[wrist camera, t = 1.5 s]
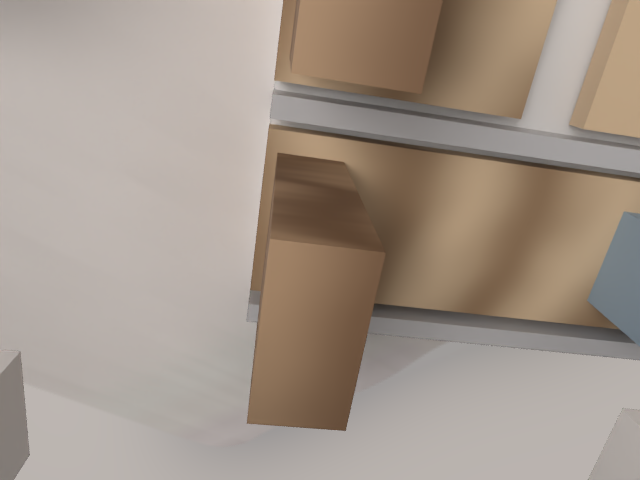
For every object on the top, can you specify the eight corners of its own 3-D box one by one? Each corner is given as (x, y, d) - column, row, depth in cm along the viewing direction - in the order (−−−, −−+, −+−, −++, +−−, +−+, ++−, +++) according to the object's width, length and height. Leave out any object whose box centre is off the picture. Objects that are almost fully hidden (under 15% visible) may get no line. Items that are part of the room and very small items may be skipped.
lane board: (250, 292, 27) (246, 321, 24) (304, -176, 19) (307, -213, 16) (643, 333, 30) (680, 364, 27) (831, -60, 22) (910, -74, 19)
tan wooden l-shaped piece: (252, 279, 25) (227, 447, 15) (269, 123, 22) (254, 198, 12) (669, 324, 28) (895, 493, 18) (735, 192, 25) (1053, 301, 15)
